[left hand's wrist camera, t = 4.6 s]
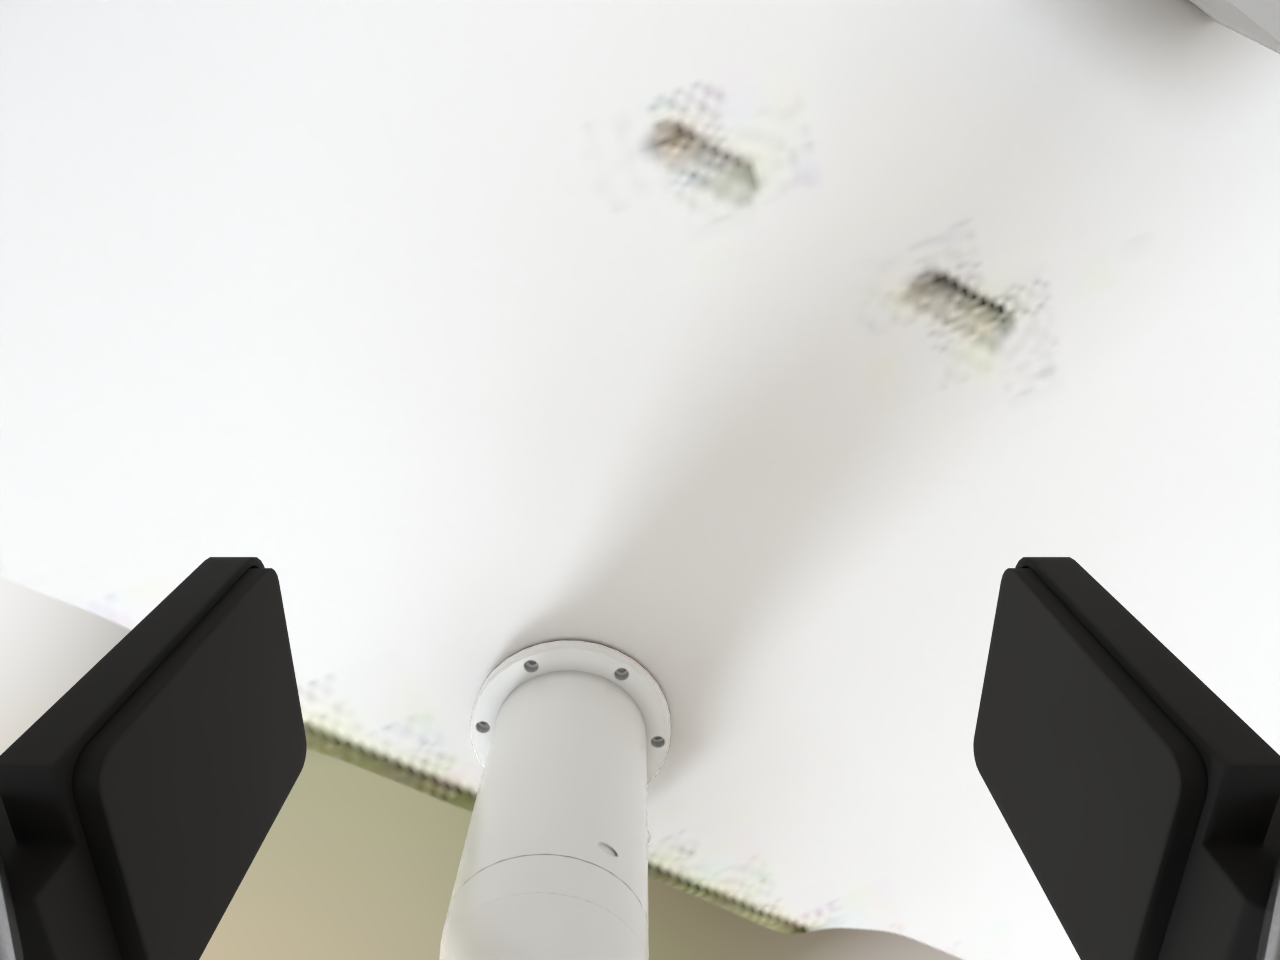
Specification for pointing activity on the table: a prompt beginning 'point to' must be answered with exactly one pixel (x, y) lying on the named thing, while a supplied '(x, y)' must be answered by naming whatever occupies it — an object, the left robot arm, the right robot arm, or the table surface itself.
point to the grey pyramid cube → (1247, 18)
